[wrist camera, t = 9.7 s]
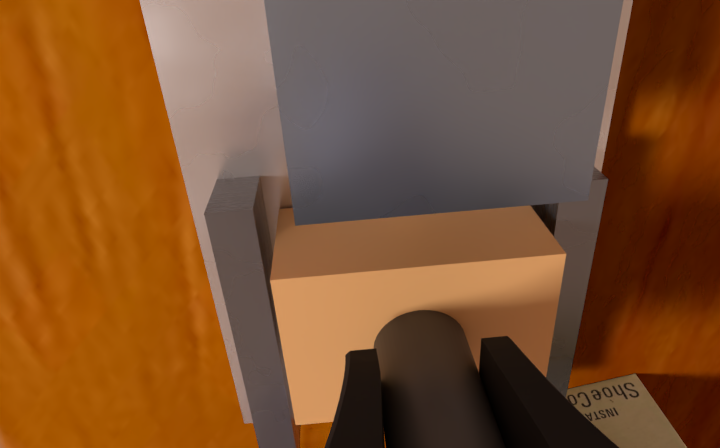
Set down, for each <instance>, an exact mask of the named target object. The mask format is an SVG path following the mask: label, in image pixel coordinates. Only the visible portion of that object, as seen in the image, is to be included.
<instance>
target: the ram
mask: <svg viewBox="0 0 720 448" xmlns="http://www.w3.org/2000/svg"><path fill="white" fill-rule="evenodd" d="M565 259H566V253H565V251H564V250H563V249H562V247H561V246H560V245H559V243H558V242H557V240H556V239H555V238H554V236H553V235H552V234H551V232H550V231H549V230H548V228H547V227H546V226H545V224H544V223H543V222H542V220H541V219H540V218H539V216H538V215H537V214H536V212H535V211H534V210H533V208H532V207H531V206H530V205H529V206H517V207H506V208H494V209H482V210H471V211H459V212H448V213H436V214H425V215H413V216H402V217H390V218H378V219H367V220H355V221H344V222H332V223H321V224H309V225H298V226H295V221H294V213H293V208H284V209H279V213H278V221H277V229H276V237H275V245H274V252H273V260H272V268H271V276H270V283H271V289H272V295H273V300H274V306H275V312H276V317H277V323H278V328H279V334H280V340H281V345H282V351H283V357H284V362H285V368H286V374H287V379H288V385H289V391H290V396H291V402H292V408H293V413H294V419H295V424H296V425H303V424H313V423H324V422H333V420H334V417H335V413H336V409H337V406H338V402H339V398H340V393H341V389H342V384H343V379H344V372H345V355H346V354H347V353H348V352H349V351H353V350H364V349H374V348H376V349H377V355H378V361H379V367H380V372H381V390H382V408H383V426H384V434H385V441H386V448H506V447H505V444H504V442H503V439H502V436H501V433H500V430H499V428H498V425H497V422H496V419H495V416H494V414H493V411H492V408H491V405H490V403H489V400H488V397H487V394H486V391H485V389H484V386H483V383H482V380H481V377H480V375H479V362H480V349H481V338H489V337H500V336H508V337H509V338H510V339H512V341H513V342H514V343H515V344H516V345H517V346H518V347H519V348H520V350H521V351H522V352H523V353H524V354H525V355H526V356H527V357H528V359H529V360H530V361H531V362H532V363H533V364H534V365H535V366H536V367H537V368H538V370H539V371H540V372H541V373H542V374H543V375H544V376H545V377H546V375H547V369H548V363H549V357H550V351H551V345H552V338H553V332H554V326H555V320H556V314H557V308H558V302H559V296H560V290H561V283H562V277H563V271H564V265H565Z"/></svg>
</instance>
